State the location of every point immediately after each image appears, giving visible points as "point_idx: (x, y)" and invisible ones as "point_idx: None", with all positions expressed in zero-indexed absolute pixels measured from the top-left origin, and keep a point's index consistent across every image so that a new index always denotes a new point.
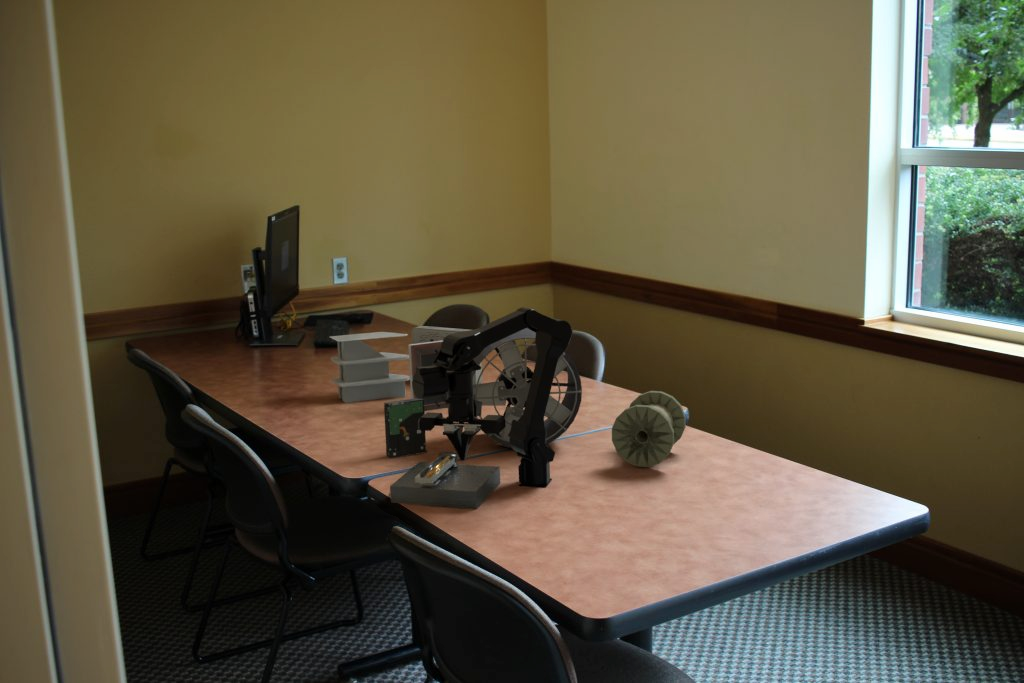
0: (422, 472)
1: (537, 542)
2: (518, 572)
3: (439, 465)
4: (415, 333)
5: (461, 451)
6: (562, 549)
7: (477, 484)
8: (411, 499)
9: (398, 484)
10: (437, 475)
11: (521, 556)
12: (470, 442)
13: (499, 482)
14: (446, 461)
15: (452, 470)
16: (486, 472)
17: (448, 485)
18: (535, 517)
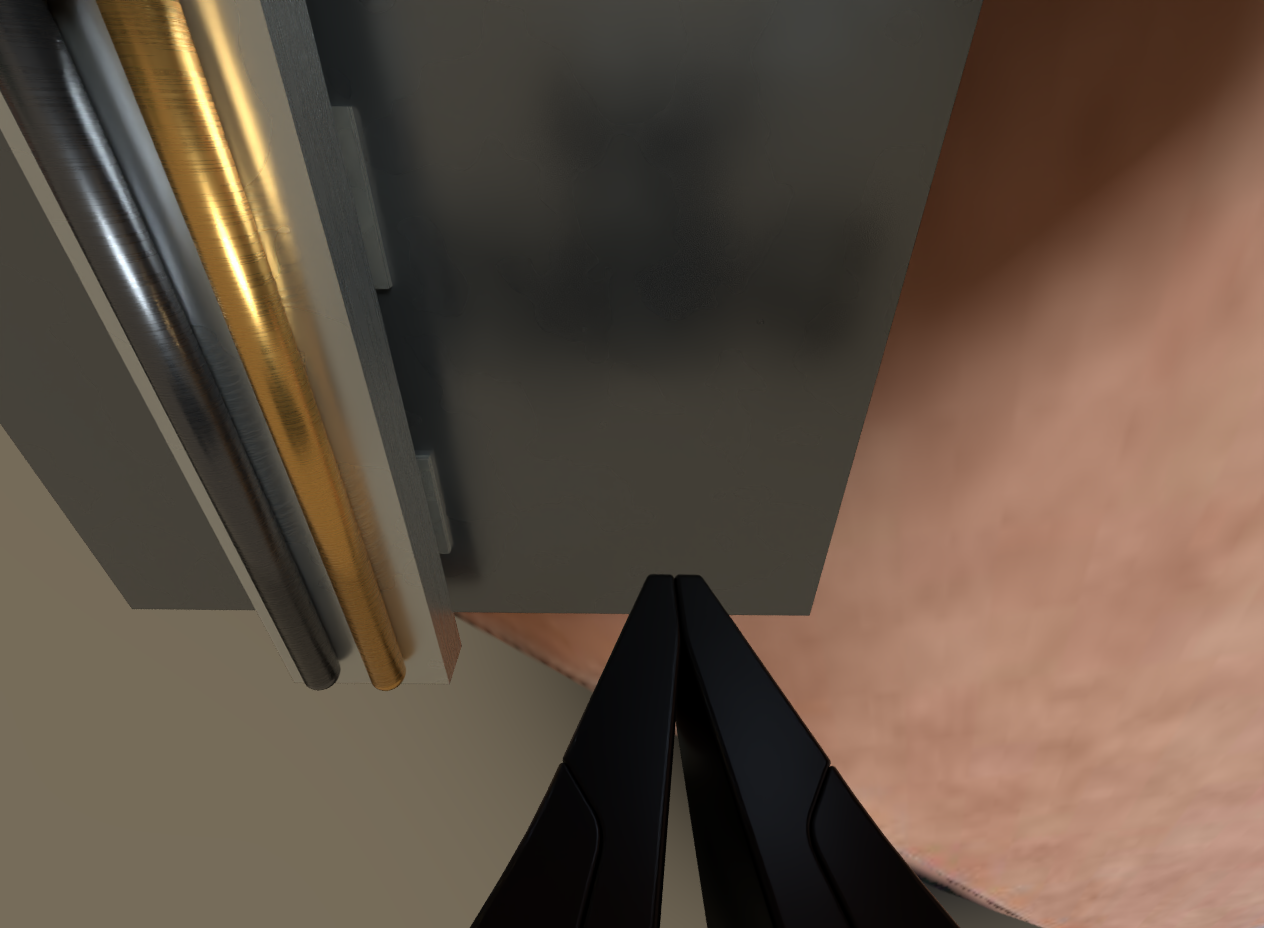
0: (318, 678)
1: (1070, 762)
2: (973, 880)
3: (320, 460)
4: None
5: (687, 796)
6: (1152, 788)
7: (799, 487)
8: None
9: (160, 575)
10: (429, 572)
11: (993, 829)
12: (872, 843)
13: None
14: (222, 131)
15: (353, 55)
16: (858, 64)
17: (559, 542)
18: (1128, 576)
